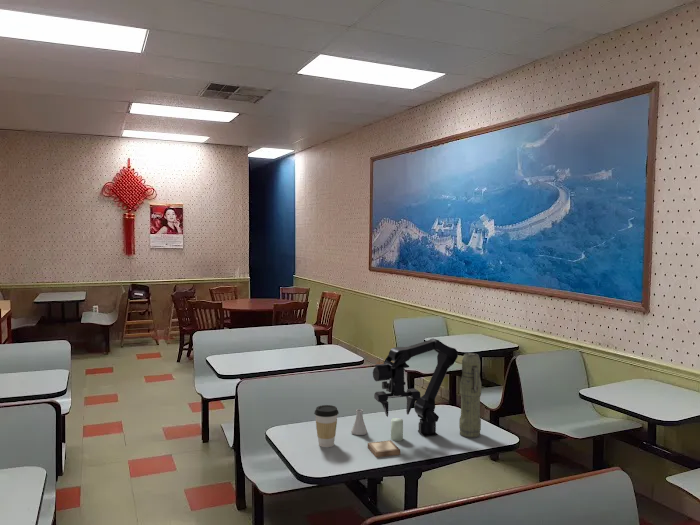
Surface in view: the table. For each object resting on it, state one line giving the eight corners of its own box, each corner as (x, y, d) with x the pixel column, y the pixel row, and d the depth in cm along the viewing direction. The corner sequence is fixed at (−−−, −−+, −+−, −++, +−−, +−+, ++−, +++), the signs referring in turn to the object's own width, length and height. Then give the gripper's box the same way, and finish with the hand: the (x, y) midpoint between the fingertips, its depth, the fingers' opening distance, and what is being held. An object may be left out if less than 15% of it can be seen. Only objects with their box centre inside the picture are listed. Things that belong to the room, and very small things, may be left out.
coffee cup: (341, 441, 233) (342, 406, 232) (333, 450, 223) (333, 413, 223) (319, 438, 236) (319, 403, 235) (310, 447, 227) (310, 410, 226)
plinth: (390, 445, 229) (390, 440, 229) (400, 454, 220) (400, 449, 220) (367, 447, 226) (367, 442, 226) (375, 457, 217) (375, 452, 217)
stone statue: (472, 428, 249) (473, 350, 247) (486, 438, 238) (487, 356, 236) (454, 430, 246) (455, 351, 244) (467, 440, 235) (468, 357, 233)
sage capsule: (400, 436, 240) (400, 417, 239) (404, 440, 235) (404, 421, 234) (389, 437, 238) (389, 418, 238) (393, 441, 233) (393, 422, 233)
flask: (366, 436, 239) (366, 413, 238) (349, 435, 240) (349, 412, 240) (369, 430, 246) (369, 408, 245) (352, 429, 247) (352, 406, 247)
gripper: (410, 372, 245) (410, 407, 246) (370, 375, 240) (370, 411, 241) (421, 378, 235) (420, 415, 236) (378, 382, 229) (378, 419, 230)
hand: (397, 415), depth 236 cm, fingers open, 9 cm apart
